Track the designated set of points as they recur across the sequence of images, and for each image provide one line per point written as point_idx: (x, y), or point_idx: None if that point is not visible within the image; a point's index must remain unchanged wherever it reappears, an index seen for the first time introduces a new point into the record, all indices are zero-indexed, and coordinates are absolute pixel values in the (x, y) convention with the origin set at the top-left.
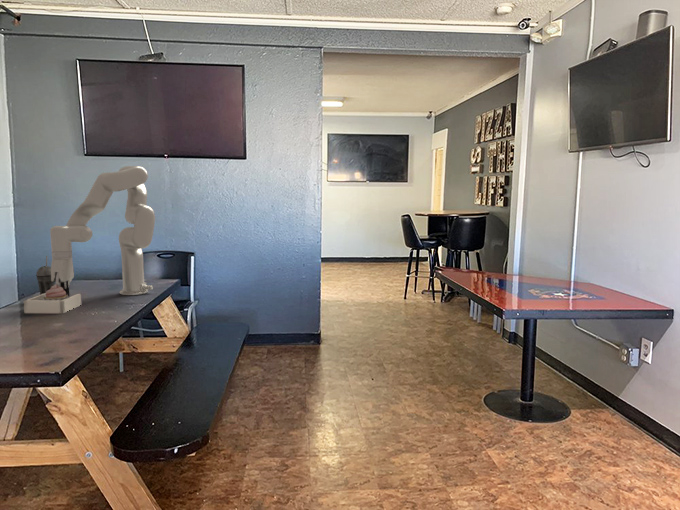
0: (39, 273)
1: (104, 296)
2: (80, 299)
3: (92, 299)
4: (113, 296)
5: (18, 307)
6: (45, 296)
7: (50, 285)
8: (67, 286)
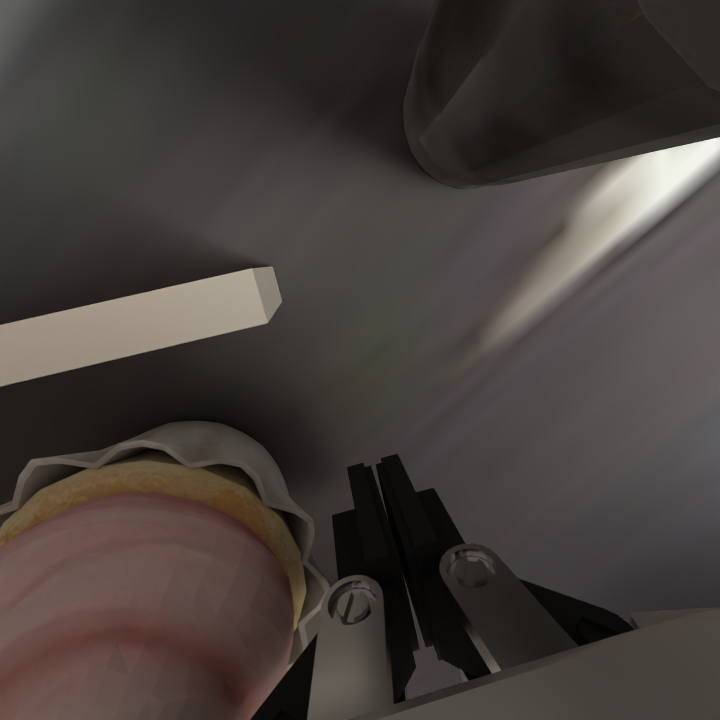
0: None
1: (711, 541)
2: None
3: (591, 535)
4: (711, 604)
5: (9, 2)
6: (79, 463)
7: (594, 139)
8: (458, 664)
